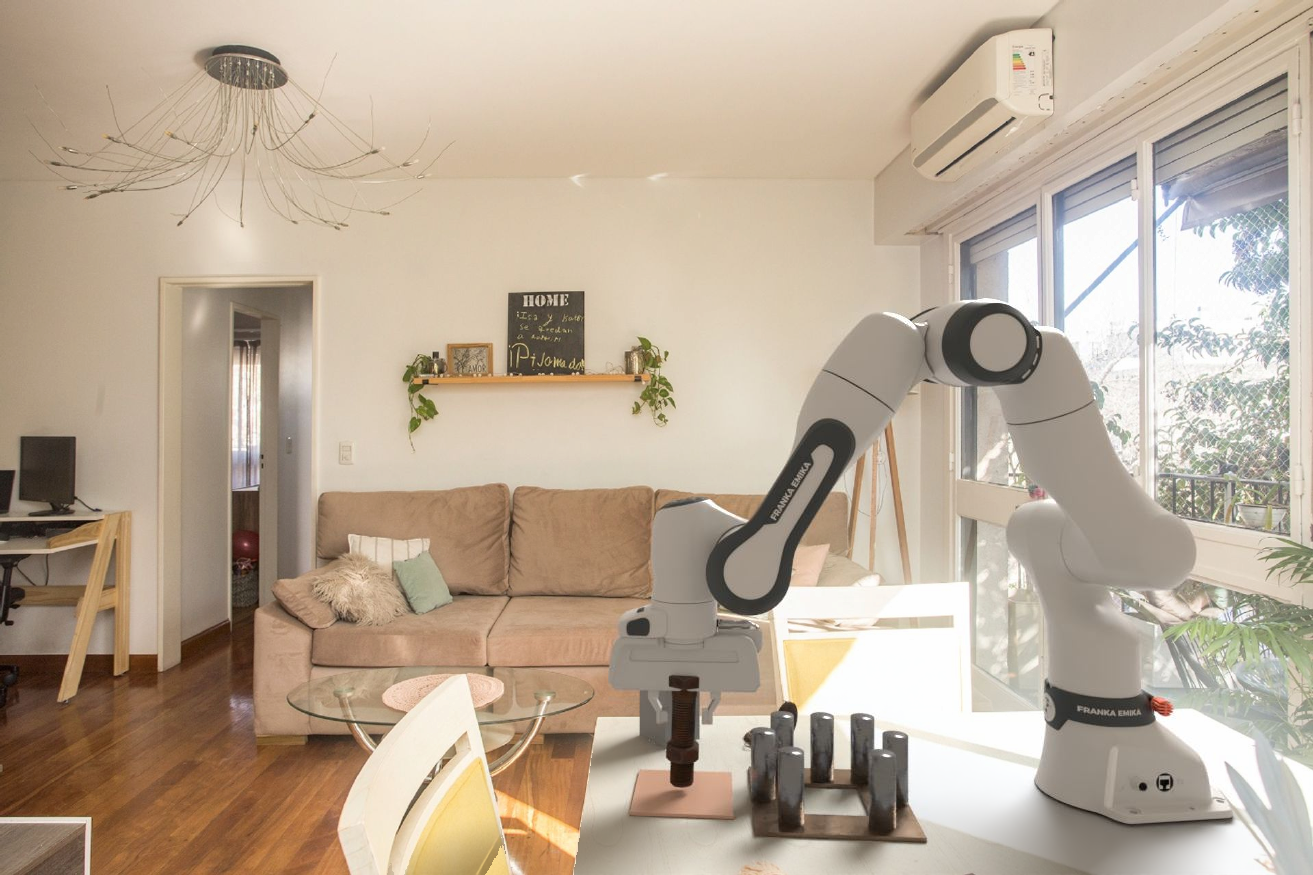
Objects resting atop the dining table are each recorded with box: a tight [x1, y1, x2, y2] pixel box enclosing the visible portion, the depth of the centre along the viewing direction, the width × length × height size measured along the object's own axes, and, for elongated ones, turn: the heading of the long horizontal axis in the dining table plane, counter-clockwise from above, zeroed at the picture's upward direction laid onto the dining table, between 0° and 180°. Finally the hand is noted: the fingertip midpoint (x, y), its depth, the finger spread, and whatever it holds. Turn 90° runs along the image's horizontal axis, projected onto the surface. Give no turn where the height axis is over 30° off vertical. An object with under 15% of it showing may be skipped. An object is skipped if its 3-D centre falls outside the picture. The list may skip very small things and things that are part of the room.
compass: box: [743, 699, 799, 748], centre depth 122 cm, size 8×8×7 cm
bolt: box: [665, 675, 700, 788], centre depth 105 cm, size 6×5×15 cm
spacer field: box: [748, 710, 928, 843], centre depth 103 cm, size 20×19×9 cm
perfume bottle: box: [639, 690, 701, 750], centre depth 124 cm, size 7×7×18 cm
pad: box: [629, 769, 734, 820], centre depth 105 cm, size 13×13×1 cm
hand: (684, 722), depth 105 cm, fingers closed on bolt, 5 cm apart
